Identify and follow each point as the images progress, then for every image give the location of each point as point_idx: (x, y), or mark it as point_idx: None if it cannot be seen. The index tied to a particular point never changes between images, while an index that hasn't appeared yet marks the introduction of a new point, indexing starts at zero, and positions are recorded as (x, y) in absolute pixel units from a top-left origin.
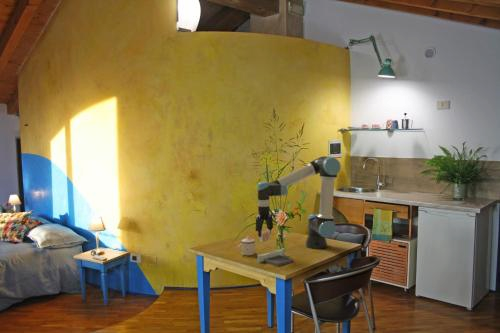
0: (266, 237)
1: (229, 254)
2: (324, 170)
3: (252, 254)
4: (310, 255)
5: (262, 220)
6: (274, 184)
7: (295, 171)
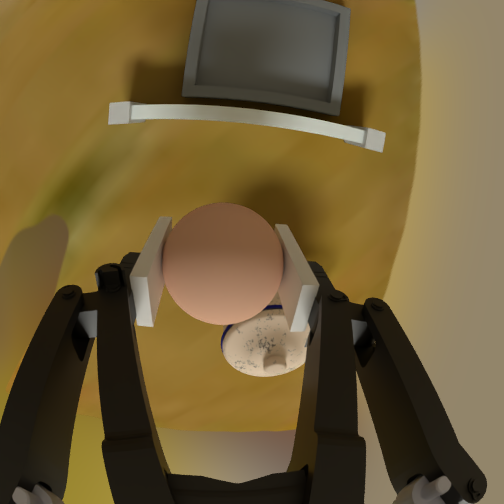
0: (251, 211)
1: None
2: None
3: None
4: (43, 29)
5: (359, 459)
6: None
7: None
